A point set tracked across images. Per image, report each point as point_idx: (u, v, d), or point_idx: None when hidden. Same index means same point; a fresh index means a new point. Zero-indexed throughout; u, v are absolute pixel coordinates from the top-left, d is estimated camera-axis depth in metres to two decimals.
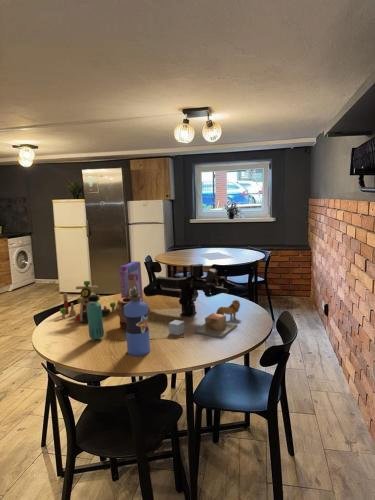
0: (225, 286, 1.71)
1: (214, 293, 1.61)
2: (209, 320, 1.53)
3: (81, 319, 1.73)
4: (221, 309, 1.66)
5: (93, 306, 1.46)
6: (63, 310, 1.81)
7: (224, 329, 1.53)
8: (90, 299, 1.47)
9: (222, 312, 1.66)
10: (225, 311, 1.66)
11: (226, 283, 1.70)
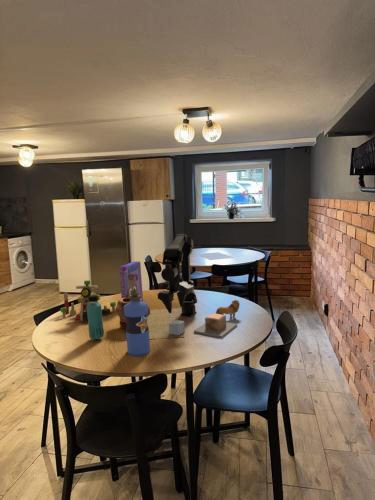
0: (179, 294, 1.57)
1: (163, 300, 1.48)
2: (209, 320, 1.53)
3: (81, 318, 1.73)
4: (221, 309, 1.66)
5: (93, 306, 1.46)
6: (63, 309, 1.82)
7: (224, 329, 1.53)
8: (90, 299, 1.47)
9: (222, 312, 1.66)
10: (225, 311, 1.66)
11: (182, 296, 1.56)
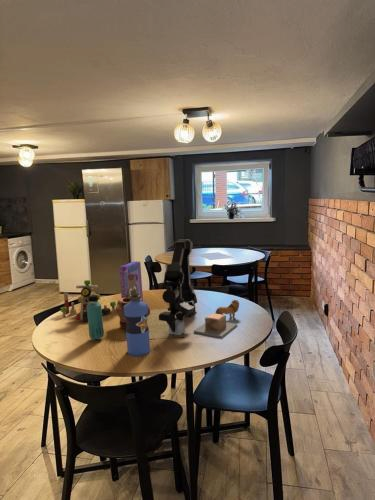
0: (178, 315, 1.56)
1: None
2: (209, 320, 1.53)
3: (81, 318, 1.74)
4: (220, 309, 1.66)
5: (93, 306, 1.46)
6: (64, 309, 1.83)
7: (224, 329, 1.53)
8: (90, 299, 1.47)
9: (221, 312, 1.66)
10: (224, 311, 1.66)
11: (181, 317, 1.55)
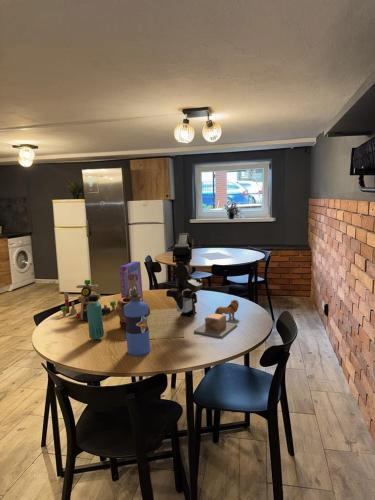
0: (185, 293, 1.55)
1: None
2: (209, 320, 1.53)
3: (81, 317, 1.75)
4: (220, 309, 1.66)
5: (93, 306, 1.46)
6: (64, 308, 1.84)
7: (224, 329, 1.53)
8: (90, 299, 1.47)
9: (221, 312, 1.66)
10: (224, 311, 1.66)
11: (189, 295, 1.54)
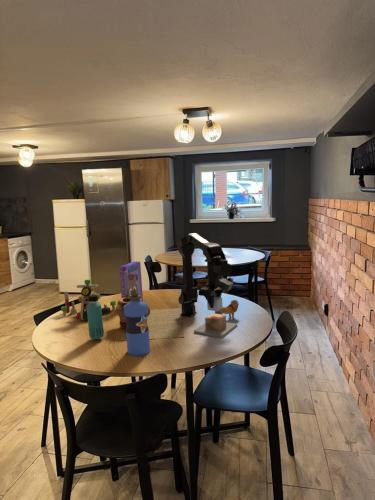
0: (215, 292, 1.57)
1: (206, 295, 1.51)
2: (209, 320, 1.53)
3: (82, 317, 1.76)
4: None
5: (93, 306, 1.46)
6: (64, 308, 1.84)
7: (224, 329, 1.53)
8: (90, 299, 1.47)
9: (221, 312, 1.66)
10: (224, 311, 1.67)
11: (218, 294, 1.56)
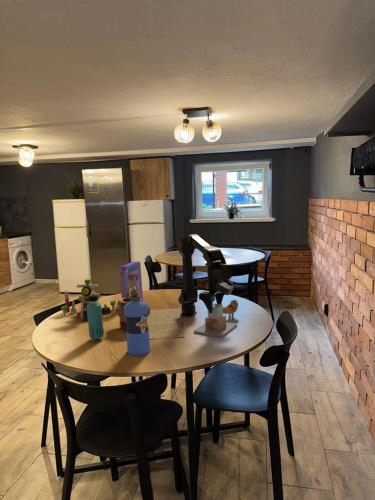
0: (217, 295, 1.58)
1: None
2: (209, 320, 1.53)
3: (82, 317, 1.76)
4: None
5: (93, 306, 1.46)
6: (64, 308, 1.85)
7: (224, 329, 1.53)
8: (90, 299, 1.47)
9: None
10: (223, 311, 1.67)
11: (220, 297, 1.57)
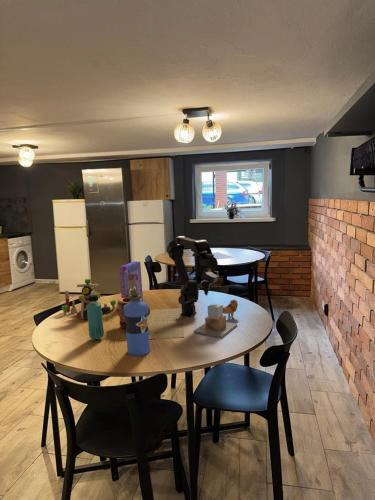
0: (204, 283, 1.70)
1: None
2: (209, 320, 1.53)
3: (82, 316, 1.77)
4: None
5: (93, 306, 1.46)
6: (64, 307, 1.86)
7: (224, 329, 1.53)
8: (90, 299, 1.47)
9: None
10: (223, 311, 1.67)
11: (207, 285, 1.69)
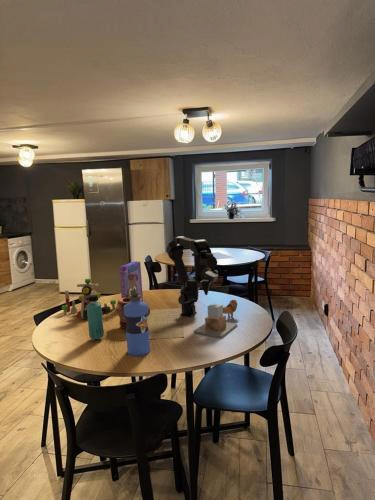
0: (204, 283, 1.70)
1: (191, 288, 1.61)
2: (209, 320, 1.53)
3: (82, 316, 1.78)
4: None
5: (93, 306, 1.46)
6: (65, 307, 1.86)
7: (224, 329, 1.53)
8: (90, 299, 1.47)
9: None
10: (223, 311, 1.67)
11: (207, 285, 1.69)
